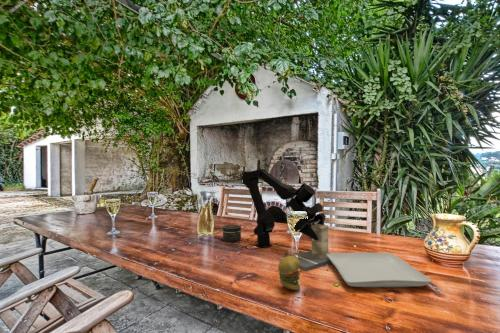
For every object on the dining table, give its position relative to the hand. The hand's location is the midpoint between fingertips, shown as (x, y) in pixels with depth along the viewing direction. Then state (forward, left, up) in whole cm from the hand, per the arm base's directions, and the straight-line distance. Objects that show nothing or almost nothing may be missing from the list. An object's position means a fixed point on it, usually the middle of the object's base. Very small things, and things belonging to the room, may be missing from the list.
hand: (322, 237), depth 116 cm
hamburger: (+12, -29, -10) cm, 33 cm away
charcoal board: (-2, -4, -10) cm, 11 cm away
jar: (-50, -15, -10) cm, 54 cm away
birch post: (-1, 0, -8) cm, 8 cm away
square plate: (+21, +3, -10) cm, 23 cm away
